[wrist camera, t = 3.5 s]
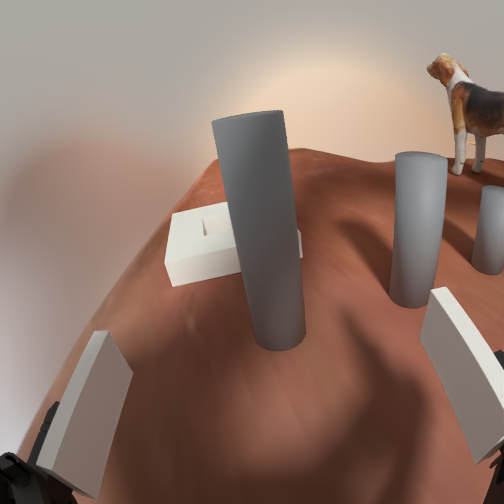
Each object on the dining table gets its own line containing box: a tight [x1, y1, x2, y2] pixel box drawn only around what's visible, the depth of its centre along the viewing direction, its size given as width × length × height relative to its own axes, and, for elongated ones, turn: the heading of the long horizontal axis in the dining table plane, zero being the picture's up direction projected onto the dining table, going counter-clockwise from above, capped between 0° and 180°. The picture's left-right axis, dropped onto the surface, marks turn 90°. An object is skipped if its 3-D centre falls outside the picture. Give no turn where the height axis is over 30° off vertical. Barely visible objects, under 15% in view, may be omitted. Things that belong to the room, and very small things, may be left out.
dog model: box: [427, 53, 504, 175], centre depth 37 cm, size 10×41×25 cm, turn 9°
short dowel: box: [471, 185, 504, 275], centre depth 24 cm, size 4×4×8 cm
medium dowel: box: [389, 152, 448, 308], centre depth 22 cm, size 4×4×12 cm
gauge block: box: [165, 202, 303, 287], centre depth 38 cm, size 14×14×3 cm
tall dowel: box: [212, 110, 306, 351], centre depth 20 cm, size 4×4×16 cm
